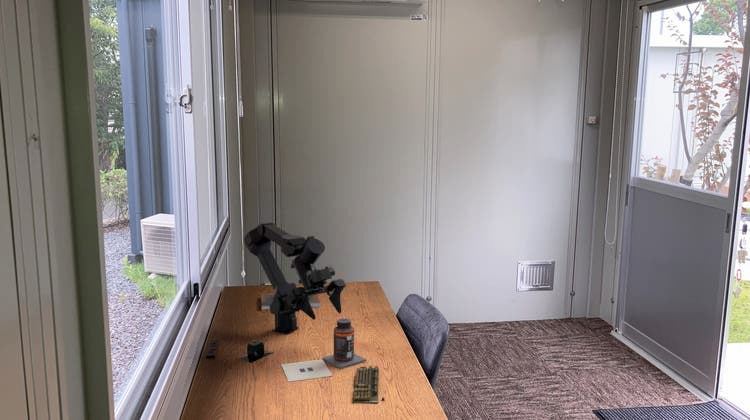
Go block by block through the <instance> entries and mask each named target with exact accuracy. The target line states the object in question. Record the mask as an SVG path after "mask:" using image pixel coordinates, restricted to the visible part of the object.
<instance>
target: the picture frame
mask: <svg viewBox="0 0 750 420" xmlns="http://www.w3.org/2000/svg"><path fill="white" fill-rule="evenodd" d="M260 294H261V295H260V296H261V297H260V298H261V311H264V310H263V309H268V310H267V311H270V310H269V309H270V305H271V304H272V302H273V294H274V292H270V293H260ZM308 300H309V303H310V305H311V307H313V308H321V306H322V303H321V300H320V297H319V294H317V295H312V296H308Z"/></svg>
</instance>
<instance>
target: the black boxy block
mask: <svg viewBox="0 0 750 420" xmlns="http://www.w3.org/2000/svg"><path fill="white" fill-rule="evenodd" d="M273 354H274V351H273V352H272V351H269V350H267V349H265V344H264V342H263V341H261V340H257V339H256V340H253V341H251V342H248V343H247V347H246V355H243V356H241V357H239V358H237V359H238V360H241V361H243V362H246V363H250V364H252V363H254V362H256V361H259V360H261V359H263V358H265V357H268V356H271V355H273Z"/></svg>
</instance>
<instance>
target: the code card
mask: <svg viewBox="0 0 750 420" xmlns="http://www.w3.org/2000/svg"><path fill="white" fill-rule="evenodd" d="M281 368H282V370H283V372H284V374H285V377H286V379H287V381H288V383H291V382H299V381H305V380H314V379H322V378H323V379H324V378H328V377H333V374H332V372H331V371H330V368H328V365H327V364H326V362H325V360H323V358H321V359H315V360H307V361H306V360H305V361H300V362H299V361H298V362H290V363H289V362H288V363H283V364H282V363H281Z"/></svg>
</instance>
